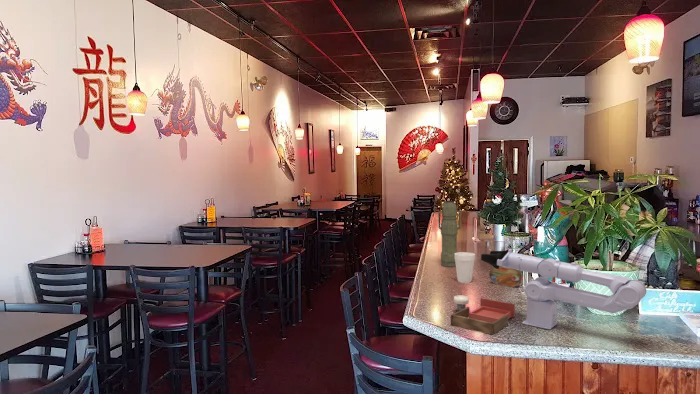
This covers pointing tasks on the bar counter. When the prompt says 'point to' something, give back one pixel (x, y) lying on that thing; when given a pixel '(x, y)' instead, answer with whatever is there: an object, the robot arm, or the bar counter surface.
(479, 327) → the cabinet
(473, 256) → the foam cup
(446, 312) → the bar counter surface
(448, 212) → the thermos
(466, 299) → the white dome
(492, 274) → the tin
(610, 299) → the robot arm
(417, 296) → the bar counter surface
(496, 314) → the drawer
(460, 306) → the cylinder
